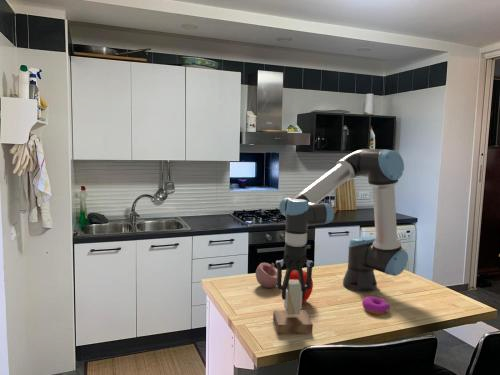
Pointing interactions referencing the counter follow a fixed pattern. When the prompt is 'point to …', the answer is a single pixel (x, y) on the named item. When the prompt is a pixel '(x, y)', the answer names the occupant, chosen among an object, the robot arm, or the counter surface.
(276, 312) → the walnut block
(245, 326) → the counter surface
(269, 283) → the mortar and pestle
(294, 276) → the tomato
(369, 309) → the donut
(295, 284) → the box
